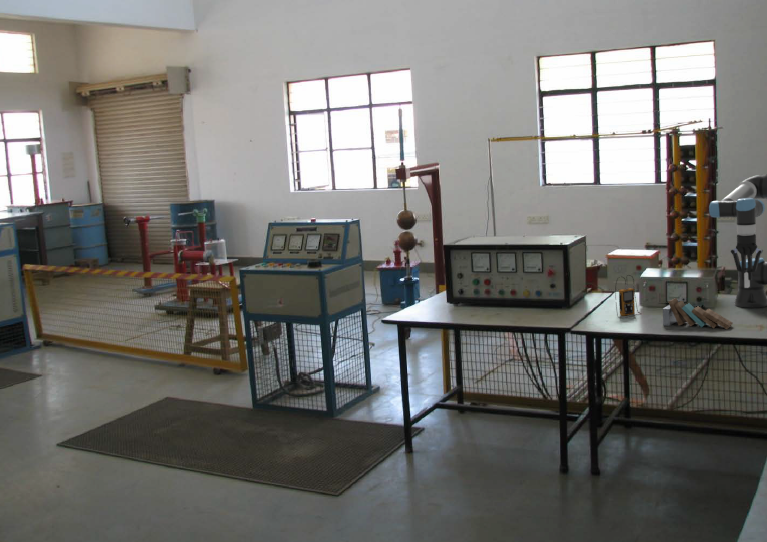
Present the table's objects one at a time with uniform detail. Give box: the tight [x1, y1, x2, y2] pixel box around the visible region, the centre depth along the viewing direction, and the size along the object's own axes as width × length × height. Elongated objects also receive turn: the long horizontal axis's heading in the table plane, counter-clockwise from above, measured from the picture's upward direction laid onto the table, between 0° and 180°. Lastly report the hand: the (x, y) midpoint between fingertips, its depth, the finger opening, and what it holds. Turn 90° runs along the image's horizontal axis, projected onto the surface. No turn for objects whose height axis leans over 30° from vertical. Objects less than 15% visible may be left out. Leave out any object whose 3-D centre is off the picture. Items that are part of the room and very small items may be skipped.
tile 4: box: [674, 301, 697, 327], centre depth 365 cm, size 2×6×12 cm
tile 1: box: [703, 308, 734, 330], centre depth 356 cm, size 2×6×12 cm
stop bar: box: [662, 304, 677, 327], centre depth 370 cm, size 3×10×8 cm, turn 141°
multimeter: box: [614, 274, 641, 319], centre depth 389 cm, size 15×10×20 cm
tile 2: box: [691, 306, 720, 329], centre depth 359 cm, size 2×6×12 cm
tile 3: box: [682, 303, 708, 328], centre depth 362 cm, size 2×6×12 cm
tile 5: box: [668, 298, 687, 326], centre depth 367 cm, size 2×6×12 cm, turn 139°
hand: (747, 287), depth 346 cm, fingers closed
